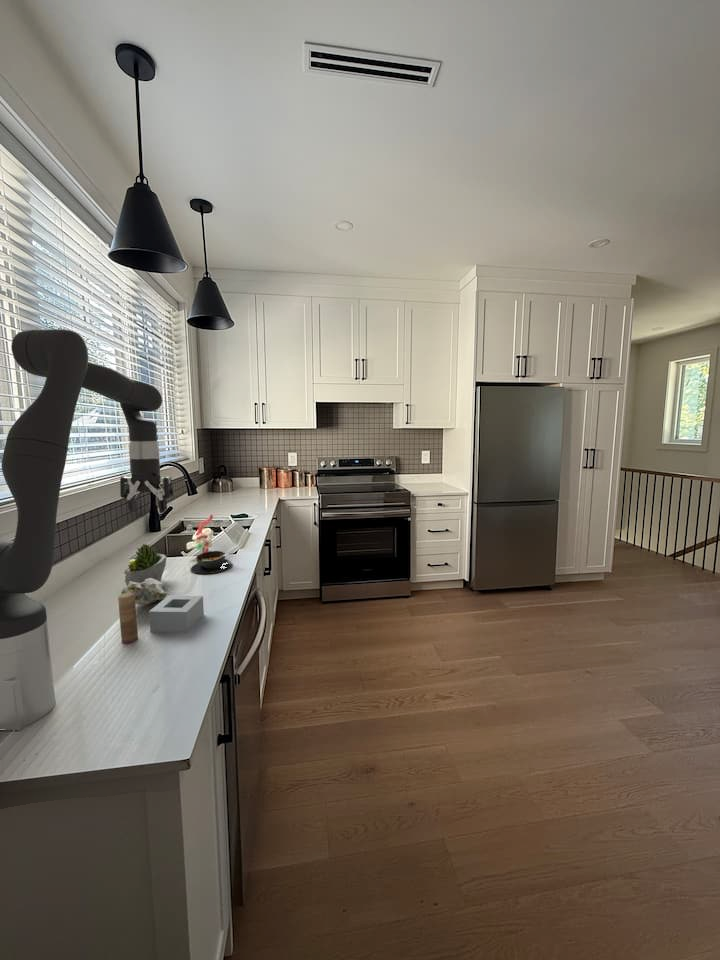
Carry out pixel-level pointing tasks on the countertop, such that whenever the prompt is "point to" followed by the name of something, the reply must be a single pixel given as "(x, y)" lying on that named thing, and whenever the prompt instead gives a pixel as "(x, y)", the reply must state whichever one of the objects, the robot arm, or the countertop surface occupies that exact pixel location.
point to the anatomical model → (202, 537)
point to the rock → (146, 591)
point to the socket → (176, 614)
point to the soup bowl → (210, 562)
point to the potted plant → (145, 565)
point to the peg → (128, 618)
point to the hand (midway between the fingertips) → (148, 512)
